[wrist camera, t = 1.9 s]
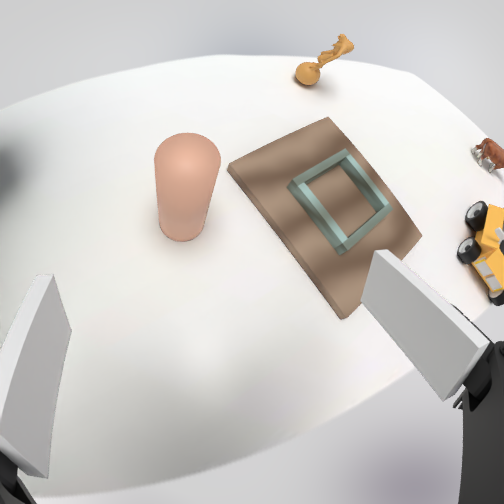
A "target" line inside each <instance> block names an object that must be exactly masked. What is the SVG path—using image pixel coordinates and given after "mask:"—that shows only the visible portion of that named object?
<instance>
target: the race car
mask: <svg viewBox="0 0 504 504" xmlns="http://www.w3.org/2000/svg"><path fill="white" fill-rule="evenodd" d="M465 219H466V221H467V222H468V223H469V224H470V226H471V227H472V228H473V230H474V231H477V233H476V237H475V238H474V237H469V238H467V239H465V240H464V241H463V242H462V243H461V244H460V246H459V248H458V251H457V254H458V255H459V257H460V258H461V259H462V260H463V262H464V263H465V264H471V263H472V265H473V266H474V267H475V269H476V270H477V272H478V273H479V274H480V276H481V277H482V279H483V280H484V281H485V283H486V284H487V286H488V287H489V289H490V291H489V298H490V299H491V300H492V302H493V303H494V305H496V306H500V305H503V304H504V208H500V207H497V206H493V205H490V204H489V207H487V205H486V204H485V202H483V201H479V202H477V203H475V204H474V205H473V206H472V207H471V208H470V209H469V210H468V212H467V214H466V217H465Z"/></svg>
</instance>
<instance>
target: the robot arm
mask: <svg viewBox="0 0 504 504" xmlns="http://www.w3.org/2000/svg"><path fill="white" fill-rule="evenodd" d="M360 301H361V302H362V304H363V305H364V306H365V307H366V308H367V309H368V311H369V312H370V313H371V314H372V315H373V316H374V318H375V319H376V320H377V321H378V322H379V323H380V325H381V326H382V327H383V328H384V329H385V331H386V332H387V333H388V334H389V335H390V337H391V338H392V339H393V340H394V341H395V343H396V344H397V345H398V346H399V347H400V349H401V350H402V351H403V352H404V354H405V355H406V356H407V357H408V358H409V360H410V361H411V362H412V363H413V365H414V366H415V367H416V368H417V370H418V371H419V372H420V373H421V375H422V376H423V377H424V378H425V380H426V381H427V382H428V383H429V385H430V386H431V387H432V389H433V390H434V391H435V392H436V394H437V395H438V396H439V397H440V399H441V400H442V401H444V400H446V399H447V398H450V397H451V396H453V395H455V393H456V392H457V391H458V389H459V388H460V387H461V385H462V384H463V385H464V386H465V387H466V388H465V390H464V391H463V392H462V394H461V395H460V396H459V398H458V399H457V400H456V401H455V403H454V405H453V408H456V406H457V405H458V404H459V403H460V402H461V401H462V403H461V405H460V406H459V408H458V409H462V410H463V456H462V473H461V484H460V493H459V502H458V504H504V341H498V342H496V344H494V343H493V342H492V341H491V340H490V339H489V338H488V337H487V336H486V335H485V334H484V333H483V332H482V331H481V330H479V328H478V327H477V326H476V325H474V324H473V323H472V322H470V320H469V319H468V318H467V317H466V316H464V315H463V313H462V312H461V311H460V310H459V309H458V308H456V307H455V306H454V305H452V304H450V303H449V302H448V301H447V300H446V299H445V298H443V297H442V296H441V295H440V294H439V293H438V292H437V291H436V290H435V289H433V288H432V287H431V286H430V285H429V284H428V283H427V282H425V281H424V280H423V279H422V278H421V277H420V276H419V275H417V274H416V273H415V272H414V271H413V270H411V269H410V268H409V267H408V266H407V265H406V264H404V263H403V262H402V261H401V260H400V259H398V258H397V257H396V256H395V255H393V254H392V253H391V252H390V251H389V250H387V249H386V250H375V251H374V254H373V258H372V262H371V266H370V269H369V273H368V276H367V280H366V283H365V287H364V290H363V293H362V297H361V300H360ZM71 332H72V330H71V327H70V324H69V322H68V319H67V316H66V313H65V310H64V307H63V304H62V301H61V298H60V294H59V291H58V288H57V284H56V281H55V277H54V274H48V275H37V276H36V277H35V279H34V281H33V283H32V285H31V287H30V289H29V290H28V292H27V294H26V296H25V298H24V300H23V302H22V304H21V306H20V308H19V310H18V312H17V314H16V316H15V319H14V321H13V323H12V325H11V327H10V330H9V332H8V334H7V336H6V339H5V341H4V343H3V346H2V348H1V351H0V504H36V502H35V501H34V499H33V498H32V496H31V495H30V493H29V492H28V490H27V489H26V487H25V485H24V484H23V482H22V481H21V479H20V478H19V477H18V476H17V470H18V468H19V469H21V470H22V471H23V472H24V473H25V474H27V475H30V476H35V477H41V478H48V474H49V459H50V448H51V438H52V430H53V422H54V415H55V408H56V402H57V396H58V391H59V385H60V380H61V375H62V370H63V365H64V361H65V356H66V352H67V348H68V344H69V340H70V336H71Z"/></svg>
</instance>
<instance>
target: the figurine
mask: <svg viewBox="0 0 504 504" xmlns="http://www.w3.org/2000/svg"><path fill="white" fill-rule="evenodd" d="M338 39H339V41H338V42H337V43H336V44H333V46H334V49H333V50H329V51H323V52H321V55H320V56H318V62H319V63H314V62H313V63H310V62H304V63H302V64H300V65H299V66H298V67H297V69H296V77H297V79H298V81H299V82H301V83H302V84H305V85H312V84H315V83H316V82H317V81H318V80H319V78H320V70H319V68H322V67H323V65H325V64H326V63H328V62H330V61H333V60H335V59H337V58H338V57H340V56H341V55H342V54H346V53H349V52H351V51H352V50H353V49H354V45H353V43H352V42H350V41H349V40H348V39H347V38H346V36H345V35H344V34H340V36H338Z"/></svg>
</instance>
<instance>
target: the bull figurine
mask: <svg viewBox="0 0 504 504" xmlns="http://www.w3.org/2000/svg"><path fill="white" fill-rule="evenodd" d="M478 149H482V150H481V151H480V152H479V154H478V156H477V158H479V157H480V160H479V161H478V163H479V166H481V165H482V161H483V159H484V158H486V157H487V159H490V160H491V161H492V163H490V168H489V173H491V171H492V170H493V169H500V168H504V149H502V148H501V147H500V146H499V145H497V144H496V143H495V142H494V141H493V140H491V139H489V138H486V139H484V140H483V141H482V143H481V144H480V145H476V147H475V148H474V149H472V153H473V154H474V153H475V151H476V150H478ZM494 164H495V166H493V165H494ZM492 166H493V167H492Z"/></svg>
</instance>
